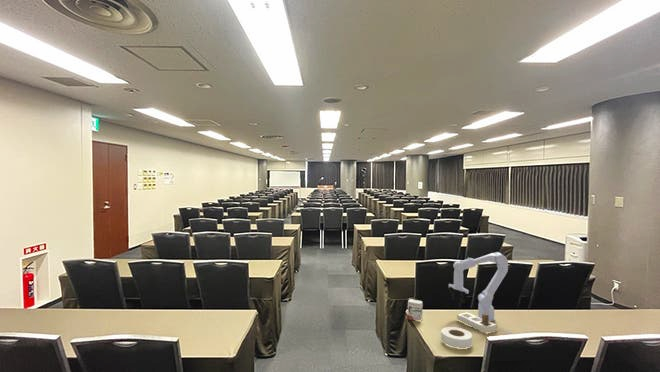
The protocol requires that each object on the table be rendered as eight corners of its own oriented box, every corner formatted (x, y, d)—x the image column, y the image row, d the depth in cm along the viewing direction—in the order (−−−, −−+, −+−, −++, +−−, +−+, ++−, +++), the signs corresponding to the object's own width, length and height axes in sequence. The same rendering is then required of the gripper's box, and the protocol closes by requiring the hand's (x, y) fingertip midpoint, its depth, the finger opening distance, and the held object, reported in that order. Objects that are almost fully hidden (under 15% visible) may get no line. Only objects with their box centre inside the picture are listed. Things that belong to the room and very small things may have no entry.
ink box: (407, 319, 207) (407, 301, 207) (409, 316, 211) (409, 298, 211) (420, 322, 203) (421, 303, 203) (422, 319, 207) (422, 301, 207)
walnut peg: (484, 326, 194) (484, 313, 194) (489, 328, 191) (489, 315, 191) (480, 327, 193) (480, 314, 193) (485, 330, 190) (485, 316, 190)
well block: (466, 318, 209) (466, 312, 209) (496, 331, 191) (496, 324, 191) (456, 320, 205) (456, 314, 205) (486, 334, 187) (486, 327, 187)
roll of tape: (436, 336, 184) (436, 326, 184) (462, 335, 185) (462, 326, 185) (449, 350, 168) (449, 340, 168) (478, 349, 170) (478, 338, 170)
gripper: (445, 278, 216) (445, 298, 216) (463, 284, 203) (463, 305, 203) (452, 276, 219) (452, 297, 219) (471, 282, 206) (470, 304, 206)
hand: (458, 301), depth 211 cm, fingers open, 7 cm apart
